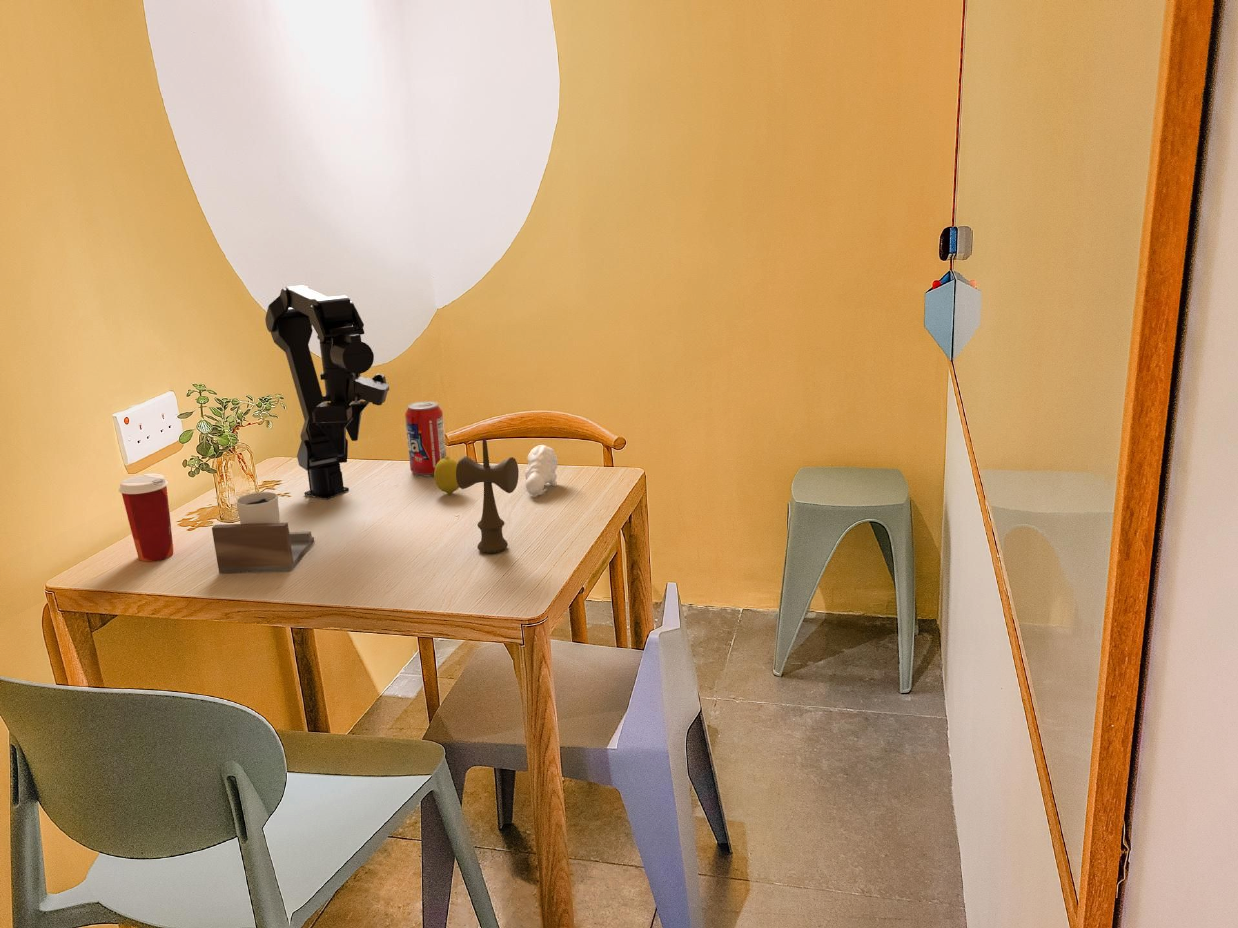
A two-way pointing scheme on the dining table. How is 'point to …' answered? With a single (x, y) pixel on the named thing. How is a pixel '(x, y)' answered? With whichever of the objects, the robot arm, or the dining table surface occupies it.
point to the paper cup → (148, 515)
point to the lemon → (446, 475)
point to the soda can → (425, 437)
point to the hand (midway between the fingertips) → (348, 447)
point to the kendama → (489, 494)
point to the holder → (259, 547)
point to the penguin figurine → (540, 469)
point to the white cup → (258, 508)
